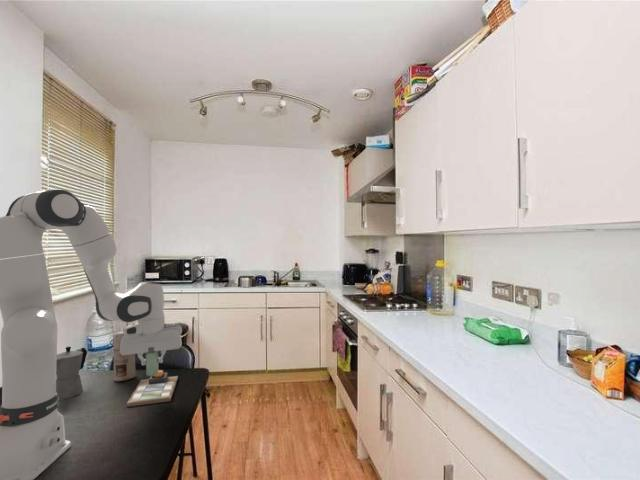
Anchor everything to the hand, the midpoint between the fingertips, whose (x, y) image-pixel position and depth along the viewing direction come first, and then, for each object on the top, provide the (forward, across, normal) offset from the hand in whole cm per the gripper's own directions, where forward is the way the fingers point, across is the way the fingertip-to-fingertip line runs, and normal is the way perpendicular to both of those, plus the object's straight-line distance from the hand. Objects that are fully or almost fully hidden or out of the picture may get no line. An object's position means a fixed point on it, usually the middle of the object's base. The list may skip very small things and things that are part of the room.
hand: (152, 363), depth 123 cm
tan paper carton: (+13, +15, -26) cm, 32 cm away
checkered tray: (+13, 0, -6) cm, 14 cm away
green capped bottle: (+4, 0, 0) cm, 4 cm away
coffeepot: (+12, +31, -16) cm, 37 cm away
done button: (+10, 0, -14) cm, 17 cm away
